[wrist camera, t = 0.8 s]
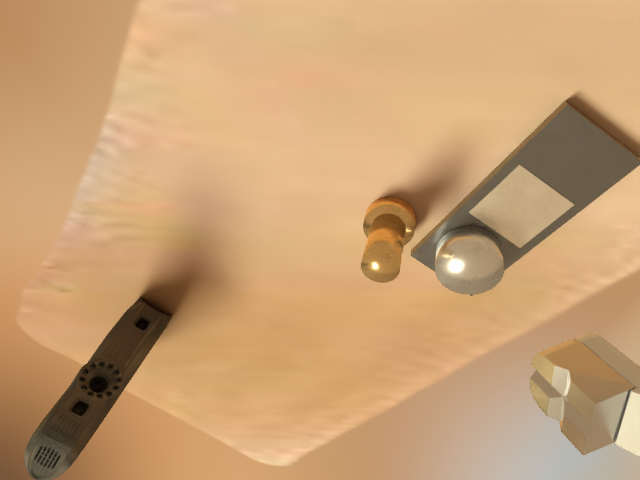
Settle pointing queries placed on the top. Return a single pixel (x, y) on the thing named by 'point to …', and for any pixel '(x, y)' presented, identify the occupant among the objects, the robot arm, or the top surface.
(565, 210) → the carrier plate
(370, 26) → the top surface
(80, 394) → the handheld device
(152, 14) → the top surface
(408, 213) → the gold pawn piece
